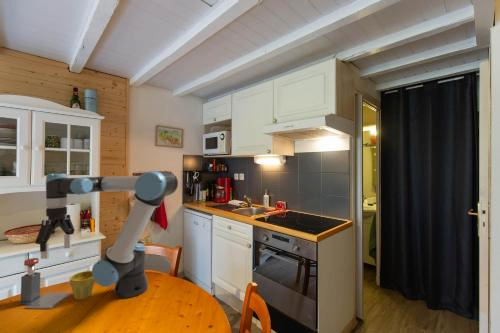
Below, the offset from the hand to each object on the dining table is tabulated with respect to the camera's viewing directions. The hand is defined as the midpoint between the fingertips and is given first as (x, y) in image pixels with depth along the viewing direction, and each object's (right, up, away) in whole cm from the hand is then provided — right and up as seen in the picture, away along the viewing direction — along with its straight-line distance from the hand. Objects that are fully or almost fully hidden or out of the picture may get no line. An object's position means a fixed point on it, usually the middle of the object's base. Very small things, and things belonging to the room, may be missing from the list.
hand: (56, 253), depth 110 cm
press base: (-4, -21, -2) cm, 22 cm away
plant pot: (+10, -22, +3) cm, 24 cm away
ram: (-10, -15, -2) cm, 18 cm away
